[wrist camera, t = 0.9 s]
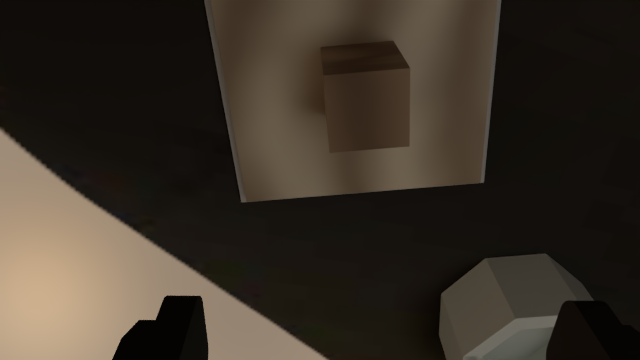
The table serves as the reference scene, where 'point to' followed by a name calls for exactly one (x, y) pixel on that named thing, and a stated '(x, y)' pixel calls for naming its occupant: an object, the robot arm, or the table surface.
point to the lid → (356, 93)
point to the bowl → (506, 308)
